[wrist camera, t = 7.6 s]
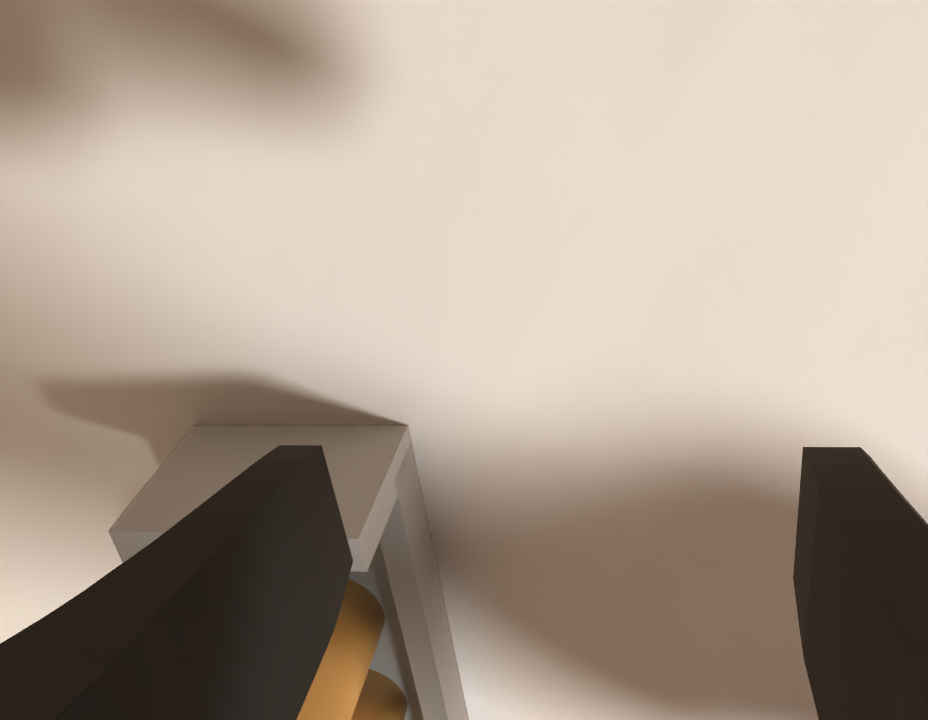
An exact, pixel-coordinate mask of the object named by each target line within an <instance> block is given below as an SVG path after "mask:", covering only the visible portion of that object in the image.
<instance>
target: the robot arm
mask: <svg viewBox="0 0 928 720" xmlns="http://www.w3.org/2000/svg"><path fill="white" fill-rule="evenodd" d="M352 563H353V558H352V555H351V551H350V547H349V544H348V540H347V536H346V533H345V529H344V525H343V522H342V518H341V514H340V511H339V507H338V503H337V500H336V496H335V492H334V489H333V485H332V481H331V478H330V474H329V470H328V467H327V463H326V459H325V456H324V452H323V448H322V445H279V446H278V447H276V448H275V449H273V450H272V451H270V452H269V453H267V454H266V455H265V456H263V457H262V458H260V459H259V460H258V461H256V462H255V463H254V464H252V465H251V466H250V467H248V468H247V469H246V470H244V471H243V472H242V473H241V474H239V475H238V476H237V477H235V478H234V479H233V480H232V481H230V482H229V483H228V484H226V485H225V486H224V487H223V488H221V489H220V490H219V491H218V492H216V493H215V494H214V495H212V496H211V497H210V498H209V499H207V500H206V501H205V502H203V503H202V504H201V505H200V506H198V507H197V508H196V509H194V510H193V511H192V512H191V513H189V514H188V515H187V516H185V517H184V518H183V519H181V520H180V521H179V522H178V523H176V524H175V525H174V526H172V527H171V528H170V529H169V530H167V531H166V532H165V533H163V534H162V535H161V536H159V537H158V538H157V539H156V540H154V541H153V542H152V543H150V544H149V545H147V546H146V547H145V548H143V549H142V550H140V551H139V552H138V553H136V554H135V555H133V556H132V557H131V558H129V559H128V560H126V561H125V562H124V563H122V564H121V565H119V566H118V567H117V568H115V569H114V570H112V571H111V572H110V573H108V574H107V575H105V576H104V577H103V578H101V579H100V580H98V581H97V582H96V583H94V584H93V585H91V586H90V587H89V588H87V589H86V590H85V591H83V592H82V593H80V594H79V595H77V596H76V597H74V598H73V599H71V600H70V601H68V602H67V603H65V604H64V605H62V606H60V607H59V608H57V609H56V610H54V611H53V612H51V613H50V614H48V615H47V616H45V617H43V618H42V619H40V620H39V621H37V622H35V623H34V624H32V625H30V626H29V627H27V628H25V629H24V630H22V631H21V632H19V633H17V634H16V635H14V636H12V637H11V638H9V639H7V640H6V641H4V642H3V643H1V644H0V720H297V717H298V715H299V713H300V710H301V708H302V706H303V703H304V701H305V699H306V696H307V694H308V692H309V689H310V687H311V685H312V682H313V680H314V678H315V675H316V673H317V670H318V668H319V666H320V663H321V661H322V658H323V656H324V654H325V651H326V649H327V647H328V644H329V642H330V639H331V637H332V634H333V632H334V629H335V625H336V622H337V619H338V615H339V612H340V608H341V605H342V602H343V598H344V594H345V590H346V587H347V583H348V579H349V575H350V571H351V567H352ZM793 579H794V587H795V595H796V603H797V611H798V619H799V627H800V634H801V641H802V649H803V656H804V661H805V665H806V669H807V673H808V677H809V681H810V685H811V689H812V693H813V697H814V701H815V705H816V709H817V713H818V717H819V720H928V524H927V523H926V522H925V520H924V519H923V518H922V517H921V516H920V515H919V514H918V513H917V511H916V510H915V509H914V508H913V507H912V506H911V505H910V503H909V502H908V501H907V500H906V499H905V498H904V496H903V495H902V494H901V493H900V492H899V491H898V490H897V488H896V487H895V486H894V485H893V484H892V482H891V481H890V480H889V479H888V478H887V476H886V475H885V474H884V473H883V472H882V470H881V469H880V468H879V467H878V466H877V464H876V463H875V462H874V461H873V460H872V458H871V457H870V456H869V455H868V454H867V453H866V452H865V451H864V450H863V449H861V448H860V447H803V455H802V468H801V482H800V495H799V509H798V522H797V536H796V549H795V562H794V576H793Z"/></svg>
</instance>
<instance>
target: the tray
mask: <svg viewBox="0 0 928 720" xmlns="http://www.w3.org/2000/svg"><path fill="white" fill-rule="evenodd" d="M279 445H322V448H323V452H324V456H325V459H326V463H327V467H328V470H329V474H330V478H331V481H332V485H333V489H334V492H335V496H336V500H337V503H338V507H339V511H340V514H341V518H342V522H343V525H344V529H345V533H346V536H347V540H348V544H349V547H350V551H351V555H352V558H353V563H352V567H351V571H350V575H349V579H348V583H347V587H346V590H345V594H344V598H343V602H342V605H341V608H340V612H339V615H338V619H337V622H336V625H335V629H334V632H333V634H332V637H331V639H330V642H329V644H328V647H327V649H326V651H325V654H324V656H323V658H322V661H321V663H320V666H319V668H318V670H317V673H316V675H315V678H314V680H313V682H312V685H311V687H310V689H309V692H308V694H307V696H306V699H305V701H304V703H303V706H302V708H301V710H300V713H299V715H298V717H297V720H469V718H468V713H467V708H466V703H465V699H464V694H463V689H462V684H461V679H460V674H459V670H458V665H457V660H456V655H455V650H454V645H453V641H452V636H451V631H450V626H449V621H448V616H447V611H446V607H445V602H444V597H443V592H442V587H441V582H440V578H439V573H438V568H437V563H436V558H435V553H434V549H433V544H432V539H431V534H430V529H429V524H428V520H427V515H426V510H425V505H424V500H423V495H422V490H421V486H420V481H419V476H418V471H417V466H416V461H415V457H414V452H413V447H412V442H411V437H410V432H409V428H408V425H193V427H192V428H191V429H190V430H189V432H188V433H187V434H186V435H185V437H184V438H183V439H182V440H181V442H180V443H179V444H178V445H177V446H176V448H175V449H174V450H173V451H172V453H171V454H170V455H169V456H168V458H167V459H166V460H165V461H164V463H163V464H162V465H161V466H160V467H159V469H158V470H157V471H156V472H155V474H154V475H153V476H152V477H151V479H150V480H149V481H148V482H147V484H146V485H145V486H144V487H143V489H142V490H141V491H140V492H139V493H138V495H137V496H136V497H135V498H134V500H133V501H132V502H131V503H130V505H129V506H128V507H127V508H126V510H125V511H124V512H123V513H122V514H121V516H120V517H119V518H118V519H117V521H116V522H115V523H114V524H113V526H112V527H111V528H110V529H109V533H110V535H111V538H112V540H113V542H114V544H115V546H116V549H117V551H118V553H119V555H120V557H121V560H122V562H125V561H126V560H128V559H129V558H131V557H132V556H133V555H135V554H136V553H138V552H139V551H140V550H142V549H143V548H145V547H146V546H147V545H149V544H150V543H152V542H153V541H154V540H156V539H157V538H158V537H159V536H161V535H162V534H163V533H165V532H166V531H167V530H169V529H170V528H171V527H172V526H174V525H175V524H176V523H178V522H179V521H180V520H181V519H183V518H184V517H185V516H187V515H188V514H189V513H191V512H192V511H193V510H194V509H196V508H197V507H198V506H200V505H201V504H202V503H203V502H205V501H206V500H207V499H209V498H210V497H211V496H212V495H214V494H215V493H216V492H218V491H219V490H220V489H221V488H223V487H224V486H225V485H226V484H228V483H229V482H230V481H232V480H233V479H234V478H235V477H237V476H238V475H239V474H241V473H242V472H243V471H244V470H246V469H247V468H248V467H250V466H251V465H252V464H254V463H255V462H256V461H258V460H259V459H260V458H262V457H263V456H265V455H266V454H267V453H269V452H270V451H272V450H273V449H275V448H276V447H278V446H279Z"/></svg>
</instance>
